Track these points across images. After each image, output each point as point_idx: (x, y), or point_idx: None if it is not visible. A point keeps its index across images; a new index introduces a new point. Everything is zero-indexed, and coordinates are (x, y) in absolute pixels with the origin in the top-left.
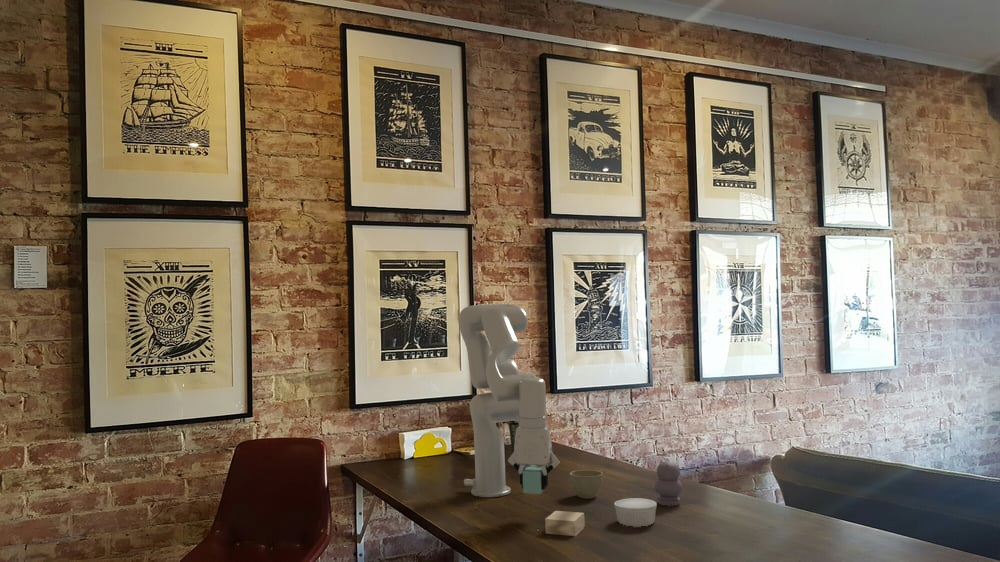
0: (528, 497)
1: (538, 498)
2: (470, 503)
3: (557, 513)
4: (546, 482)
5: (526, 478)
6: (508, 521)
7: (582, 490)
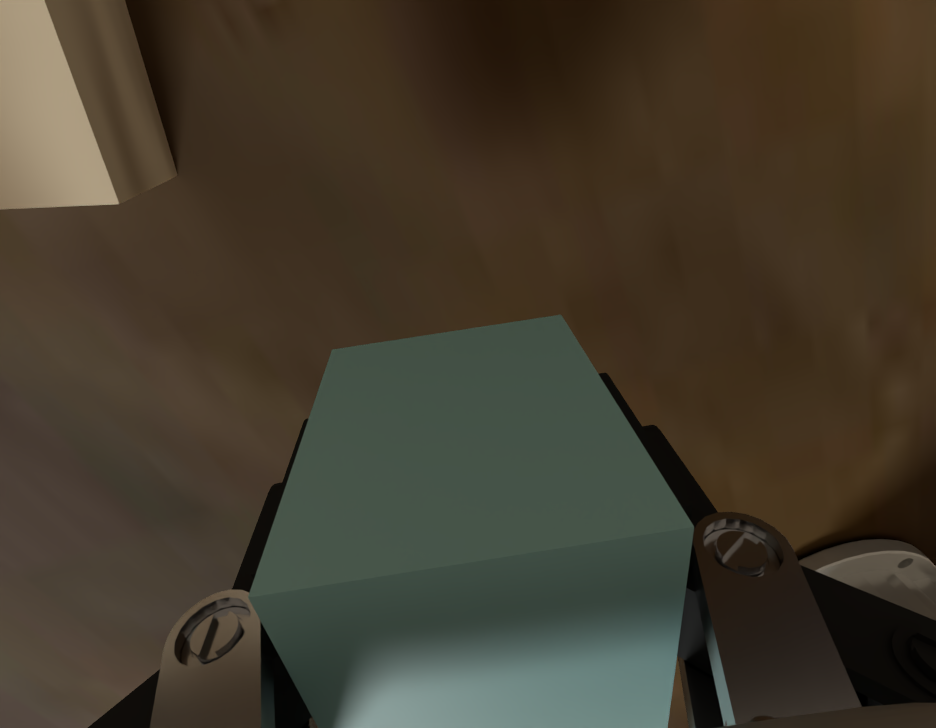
0: None
1: None
2: (929, 439)
3: (9, 94)
4: (264, 513)
5: (558, 435)
6: (613, 139)
7: None
